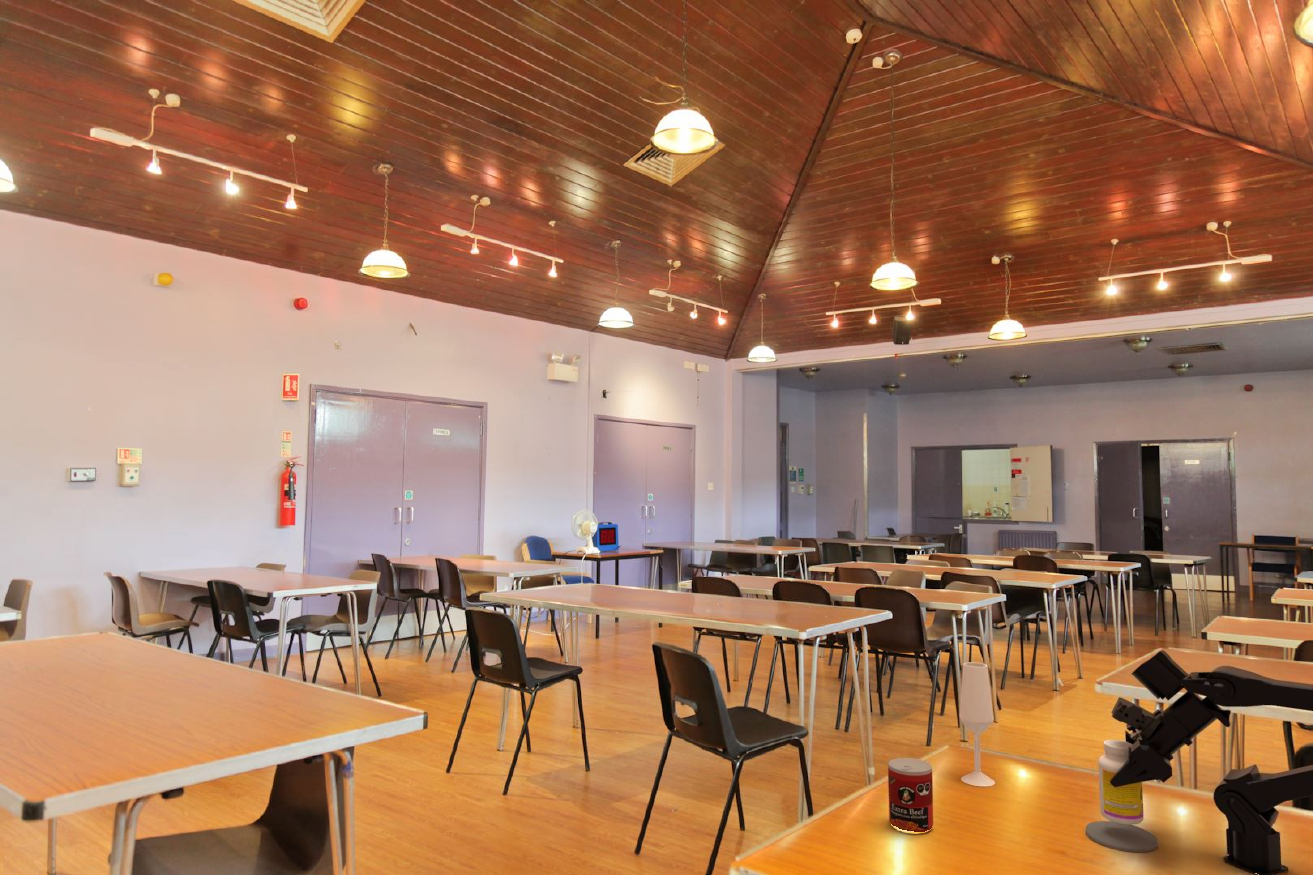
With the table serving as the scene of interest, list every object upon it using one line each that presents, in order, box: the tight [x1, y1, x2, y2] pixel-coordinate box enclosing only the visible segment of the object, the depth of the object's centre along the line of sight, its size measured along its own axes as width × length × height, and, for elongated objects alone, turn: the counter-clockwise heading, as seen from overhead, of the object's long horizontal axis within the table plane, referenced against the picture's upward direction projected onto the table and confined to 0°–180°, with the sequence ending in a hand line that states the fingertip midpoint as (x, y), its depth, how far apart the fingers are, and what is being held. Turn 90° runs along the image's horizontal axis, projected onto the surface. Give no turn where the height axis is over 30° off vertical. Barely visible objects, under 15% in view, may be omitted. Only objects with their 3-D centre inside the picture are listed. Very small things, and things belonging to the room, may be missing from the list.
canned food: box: [887, 757, 934, 832], centre depth 149 cm, size 8×8×11 cm
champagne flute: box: [959, 661, 996, 787], centre depth 173 cm, size 7×7×24 cm
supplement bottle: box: [1097, 739, 1145, 826], centre depth 144 cm, size 7×7×13 cm
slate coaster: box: [1085, 820, 1159, 853], centre depth 144 cm, size 11×11×1 cm
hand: (1111, 778), depth 145 cm, fingers closed on supplement bottle, 6 cm apart
